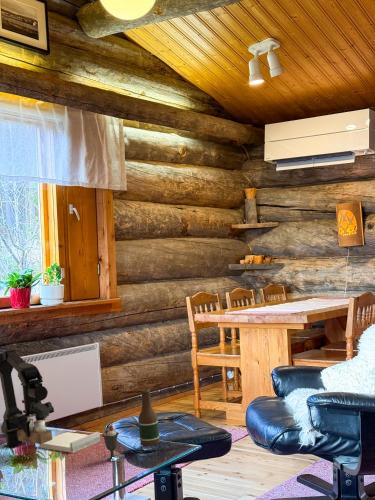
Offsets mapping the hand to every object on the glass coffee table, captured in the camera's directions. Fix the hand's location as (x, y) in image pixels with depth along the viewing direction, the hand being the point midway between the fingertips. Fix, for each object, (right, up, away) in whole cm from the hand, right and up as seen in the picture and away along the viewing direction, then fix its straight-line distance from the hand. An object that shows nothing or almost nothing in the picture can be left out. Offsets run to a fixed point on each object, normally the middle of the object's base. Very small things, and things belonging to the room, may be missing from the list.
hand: (34, 434), depth 292 cm
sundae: (+34, -6, -14) cm, 37 cm away
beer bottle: (+48, -5, -5) cm, 48 cm away
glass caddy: (0, -2, 0) cm, 2 cm away
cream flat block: (+13, -7, +11) cm, 18 cm away
